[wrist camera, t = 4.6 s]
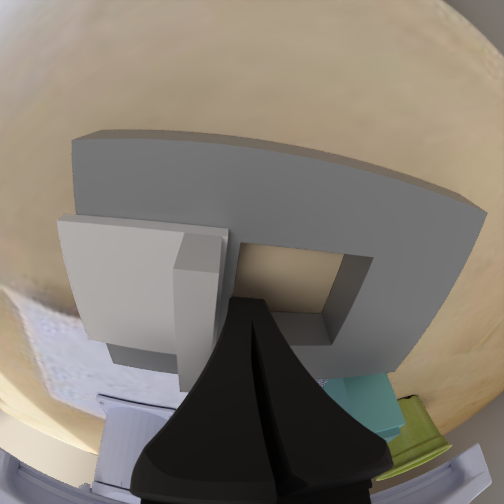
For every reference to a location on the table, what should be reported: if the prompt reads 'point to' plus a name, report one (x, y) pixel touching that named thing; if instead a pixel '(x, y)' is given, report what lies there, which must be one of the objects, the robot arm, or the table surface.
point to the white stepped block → (147, 285)
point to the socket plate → (294, 233)
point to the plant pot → (414, 439)
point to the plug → (369, 402)
